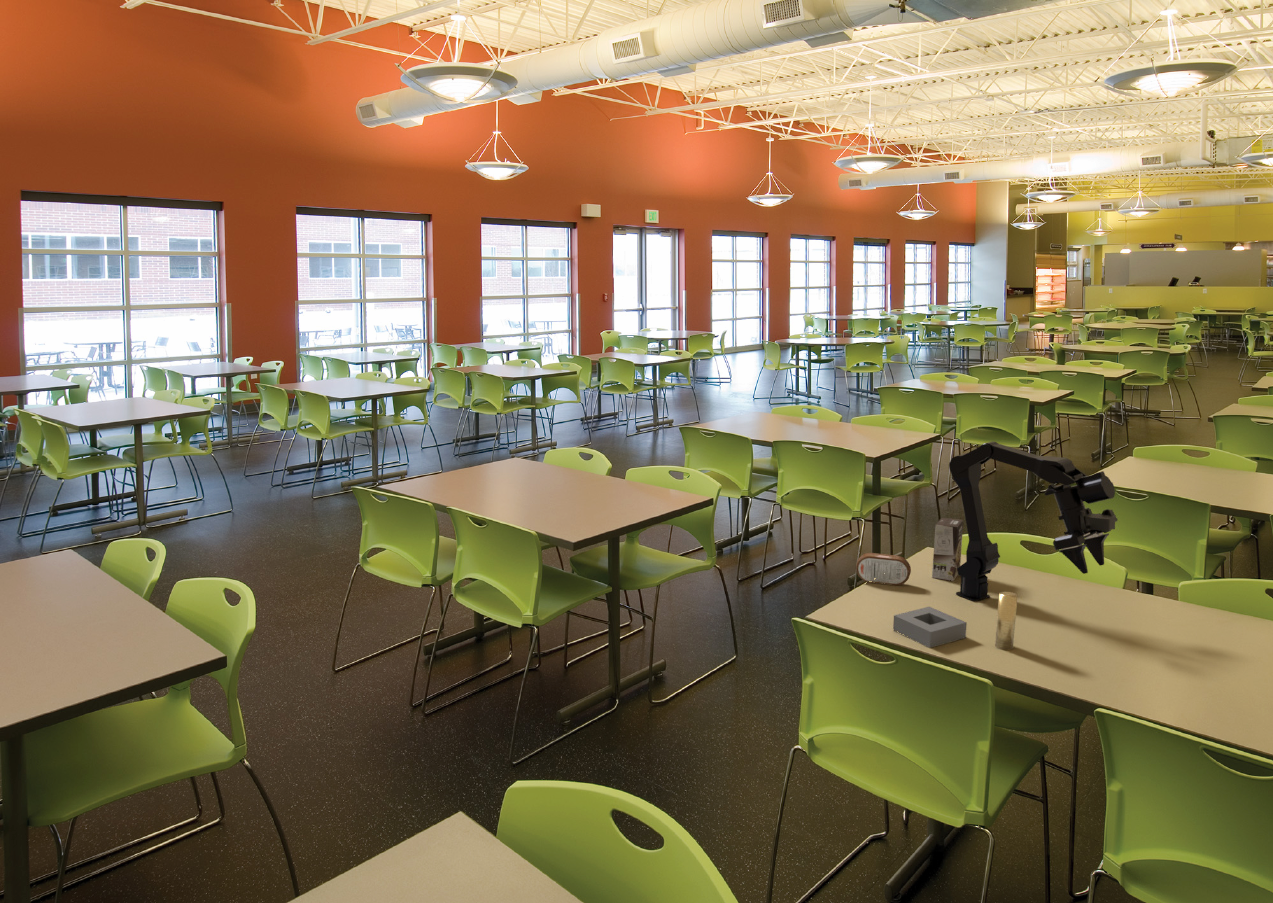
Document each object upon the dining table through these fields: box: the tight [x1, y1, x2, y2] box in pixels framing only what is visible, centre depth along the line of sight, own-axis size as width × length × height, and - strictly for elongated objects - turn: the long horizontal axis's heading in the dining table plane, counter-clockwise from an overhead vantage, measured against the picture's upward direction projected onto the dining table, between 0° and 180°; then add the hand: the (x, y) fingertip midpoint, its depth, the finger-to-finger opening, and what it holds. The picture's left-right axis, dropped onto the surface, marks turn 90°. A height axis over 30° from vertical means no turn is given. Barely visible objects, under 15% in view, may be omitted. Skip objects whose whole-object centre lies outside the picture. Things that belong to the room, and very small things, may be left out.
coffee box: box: [931, 517, 964, 582], centre depth 265 cm, size 9×6×16 cm
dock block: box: [892, 606, 968, 649], centre depth 224 cm, size 12×12×4 cm
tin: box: [855, 552, 912, 586], centre depth 259 cm, size 15×3×8 cm, turn 71°
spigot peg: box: [994, 591, 1018, 651], centre depth 215 cm, size 4×4×13 cm
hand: (1093, 569), depth 223 cm, fingers open, 9 cm apart
